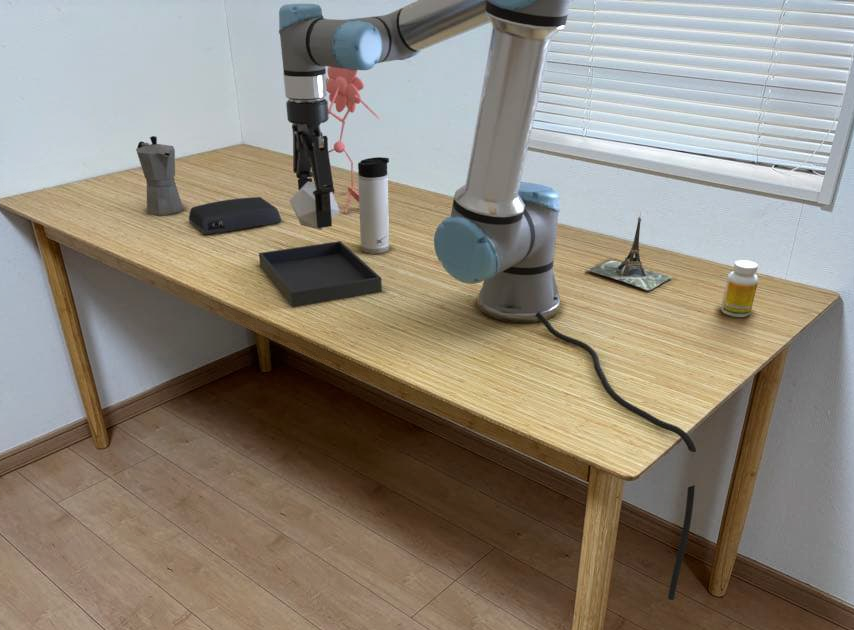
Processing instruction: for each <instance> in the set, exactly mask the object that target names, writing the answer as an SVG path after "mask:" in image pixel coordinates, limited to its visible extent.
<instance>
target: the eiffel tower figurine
mask: <svg viewBox="0 0 854 630" xmlns="http://www.w3.org/2000/svg"><path fill="white" fill-rule="evenodd" d="M641 214H642V212H641V211H640V213H639V215H641ZM641 221H642V217H641V216H639V217H638V218H637V225H636V229H635V234H634V237H633V242H632V246H631V247H630V251H629V253H628V255H627V256H625V258H624V260H623V261H622V262H620V261H616V260H612V259H611V260H608V261H607V262H605V263H602V264H599V265H596V266H594V267H591V268H589V269H587V272H588V271H589V272H592V273H595V274H598V275H600V276H603V277H607V278H611V279H614V280H617V281H619V282H623V283H626V284H629V285H632V286H635V287H638V288H640V289H643V290H645V291H648V292H649V291H651V290H653V289H655V288H656V287H658V286H661V285H662V284H663V283H665V282H667V281H669V280H670V279H671V278H672V279H673V277H674V275H669V274H664V273H659V272H656V271H652V270H651V269H646V268H644V267H643V265H642V264H643V261H642V260H641V256H640V232H641Z"/></svg>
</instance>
